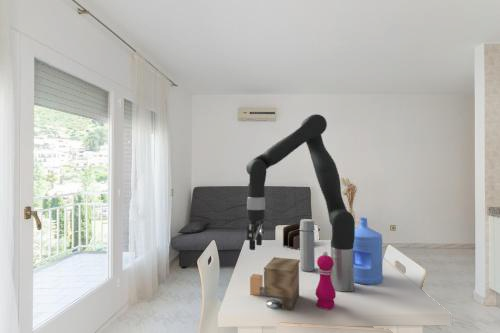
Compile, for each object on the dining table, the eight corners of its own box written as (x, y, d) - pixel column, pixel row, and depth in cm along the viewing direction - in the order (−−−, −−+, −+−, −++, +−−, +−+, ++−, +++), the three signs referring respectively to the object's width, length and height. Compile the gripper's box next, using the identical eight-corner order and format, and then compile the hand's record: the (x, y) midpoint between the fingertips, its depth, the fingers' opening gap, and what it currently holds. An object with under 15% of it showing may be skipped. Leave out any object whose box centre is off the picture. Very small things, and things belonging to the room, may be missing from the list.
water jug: (365, 271, 151) (365, 214, 152) (390, 282, 137) (390, 219, 137) (339, 276, 146) (338, 216, 146) (362, 287, 131) (361, 221, 132)
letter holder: (282, 247, 202) (282, 225, 203) (302, 242, 215) (302, 222, 215) (294, 250, 195) (293, 227, 195) (313, 245, 207) (313, 224, 208)
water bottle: (315, 272, 151) (314, 221, 151) (299, 271, 152) (298, 221, 153) (315, 266, 160) (314, 218, 160) (299, 266, 161) (299, 218, 162)
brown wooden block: (300, 295, 123) (299, 259, 124) (292, 311, 110) (292, 270, 110) (274, 292, 127) (273, 257, 127) (263, 306, 113) (263, 267, 113)
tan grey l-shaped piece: (285, 294, 124) (285, 277, 124) (283, 298, 120) (283, 280, 120) (253, 290, 129) (253, 273, 129) (250, 294, 125) (250, 277, 125)
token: (281, 304, 116) (281, 300, 116) (278, 309, 111) (278, 305, 111) (268, 302, 118) (268, 298, 118) (264, 308, 113) (264, 303, 113)
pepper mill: (332, 301, 118) (331, 248, 118) (338, 309, 110) (337, 253, 111) (313, 301, 117) (313, 249, 118) (318, 310, 110) (317, 254, 110)
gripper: (259, 210, 119) (259, 252, 119) (269, 206, 132) (269, 244, 132) (241, 209, 122) (240, 250, 121) (253, 205, 135) (252, 242, 135)
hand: (255, 247), depth 127 cm, fingers open, 8 cm apart
